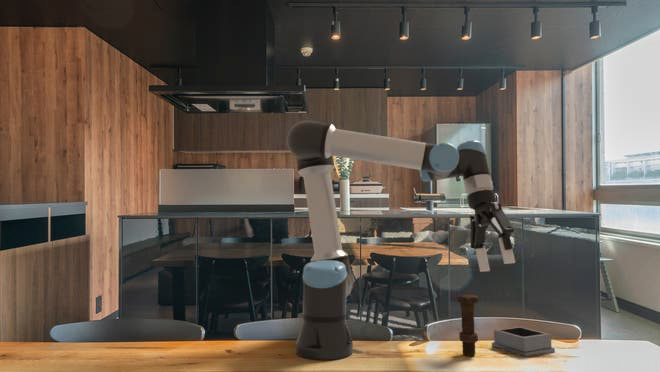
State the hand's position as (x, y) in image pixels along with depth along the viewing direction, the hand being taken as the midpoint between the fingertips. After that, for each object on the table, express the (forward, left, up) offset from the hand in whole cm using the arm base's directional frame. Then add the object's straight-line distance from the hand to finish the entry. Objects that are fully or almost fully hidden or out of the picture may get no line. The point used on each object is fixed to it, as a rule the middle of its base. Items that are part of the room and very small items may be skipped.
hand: (496, 267), depth 111 cm
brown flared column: (-2, -9, -22) cm, 24 cm away
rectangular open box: (0, +8, -22) cm, 24 cm away
